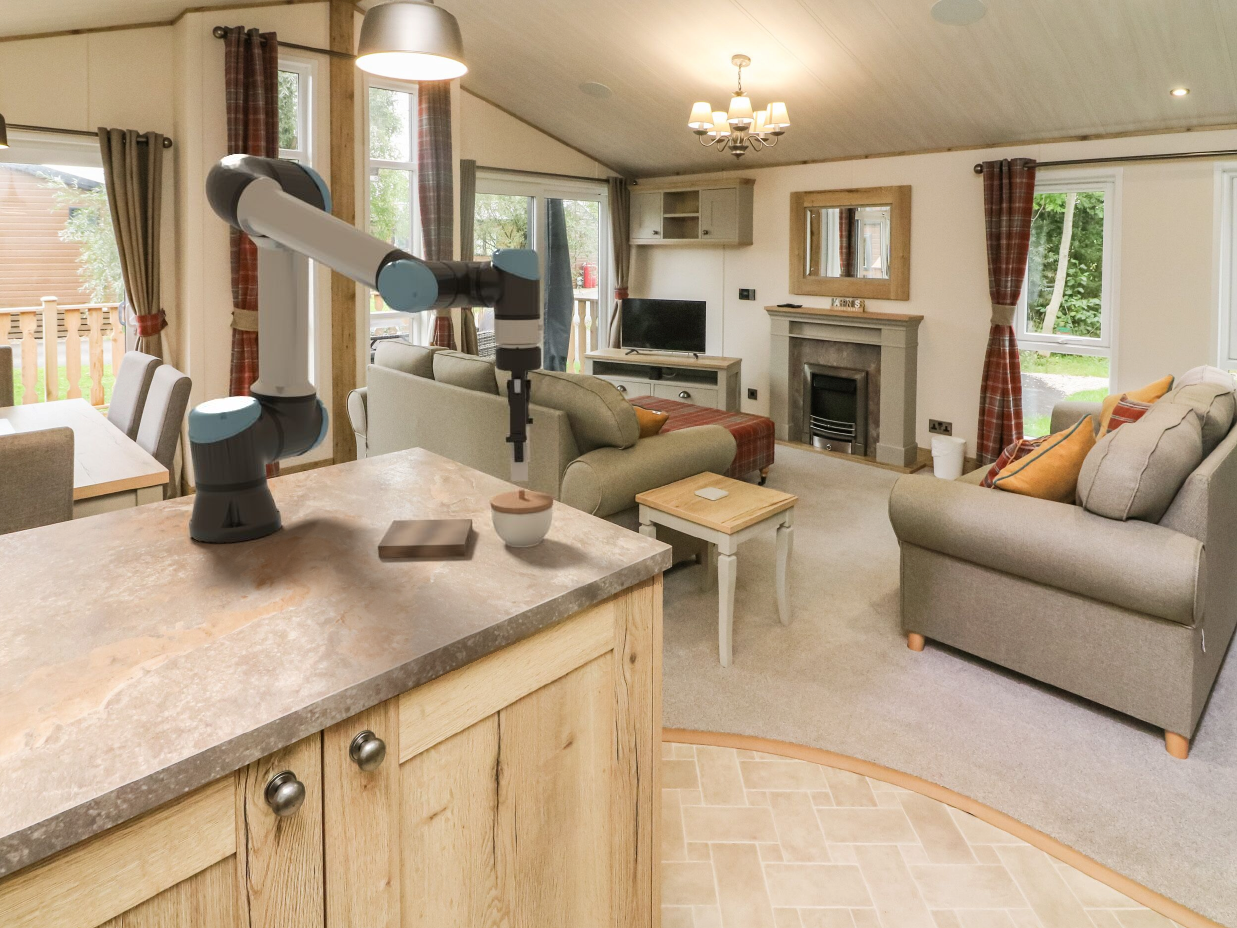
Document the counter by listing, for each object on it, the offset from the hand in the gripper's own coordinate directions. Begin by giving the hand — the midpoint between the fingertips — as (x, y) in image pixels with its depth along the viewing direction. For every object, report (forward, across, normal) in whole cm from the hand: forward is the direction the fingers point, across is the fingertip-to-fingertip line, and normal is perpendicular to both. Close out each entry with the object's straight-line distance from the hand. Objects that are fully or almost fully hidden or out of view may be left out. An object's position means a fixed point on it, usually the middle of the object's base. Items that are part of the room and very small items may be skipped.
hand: (521, 470), depth 142 cm
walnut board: (+13, 0, +16) cm, 21 cm away
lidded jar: (+13, 0, 0) cm, 13 cm away
